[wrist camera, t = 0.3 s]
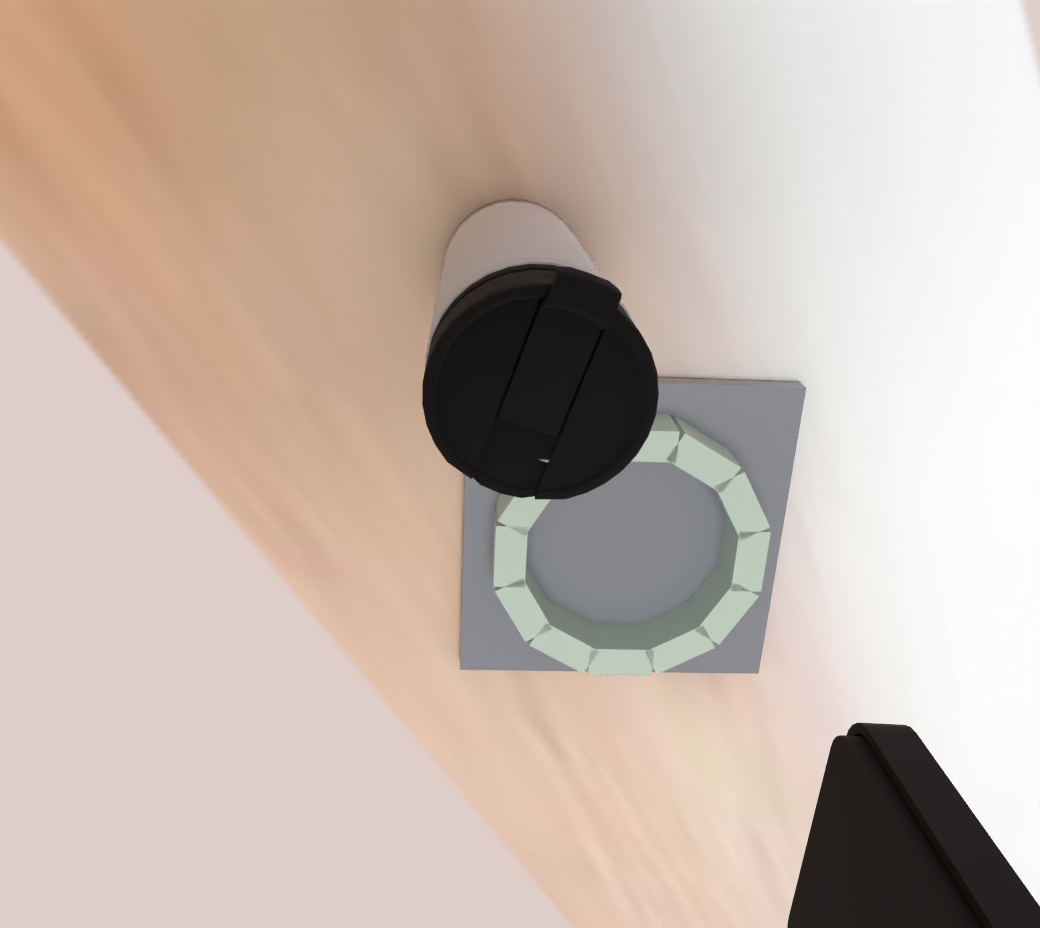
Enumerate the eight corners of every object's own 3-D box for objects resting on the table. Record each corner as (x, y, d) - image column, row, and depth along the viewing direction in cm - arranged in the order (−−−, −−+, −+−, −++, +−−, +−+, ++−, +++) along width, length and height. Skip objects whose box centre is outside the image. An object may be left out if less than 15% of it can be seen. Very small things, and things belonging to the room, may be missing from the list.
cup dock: (467, 371, 44) (466, 393, 40) (799, 381, 44) (824, 404, 41) (460, 658, 49) (459, 698, 46) (753, 662, 50) (772, 701, 47)
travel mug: (604, 219, 41) (710, 321, 23) (552, 355, 43) (609, 548, 25) (472, 170, 40) (469, 233, 22) (426, 311, 42) (386, 478, 24)
